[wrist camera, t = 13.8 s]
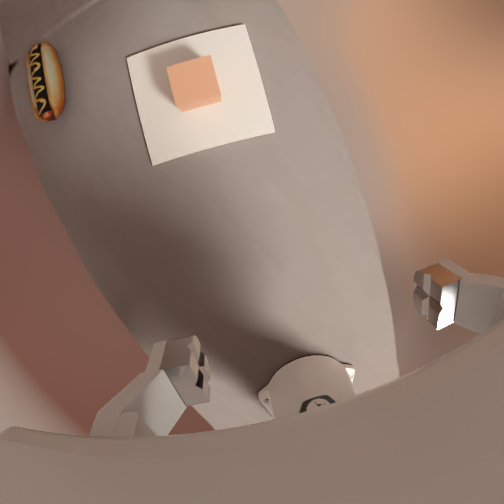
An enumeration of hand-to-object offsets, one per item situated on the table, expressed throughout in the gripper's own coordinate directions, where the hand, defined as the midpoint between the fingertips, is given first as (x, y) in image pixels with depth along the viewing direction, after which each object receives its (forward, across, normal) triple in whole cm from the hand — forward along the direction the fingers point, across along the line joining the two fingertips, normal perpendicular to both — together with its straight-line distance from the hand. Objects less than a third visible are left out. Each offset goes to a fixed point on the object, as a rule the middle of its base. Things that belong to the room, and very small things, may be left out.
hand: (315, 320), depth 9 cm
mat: (+29, +3, -15) cm, 33 cm away
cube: (+28, +3, -15) cm, 32 cm away
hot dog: (+30, +23, -25) cm, 45 cm away
